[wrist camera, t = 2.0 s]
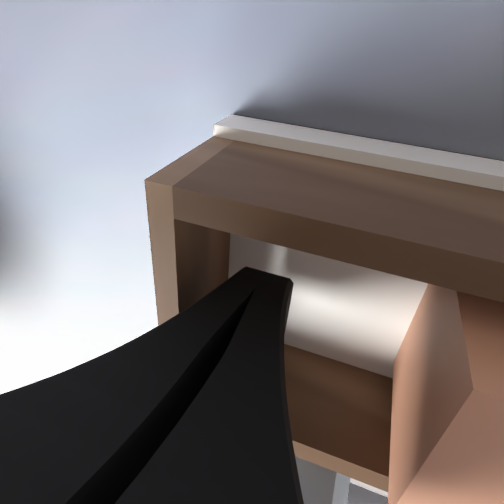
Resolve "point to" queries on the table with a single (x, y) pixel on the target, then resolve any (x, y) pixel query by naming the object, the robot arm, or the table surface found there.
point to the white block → (321, 484)
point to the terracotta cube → (449, 403)
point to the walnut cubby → (326, 245)
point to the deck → (341, 273)
